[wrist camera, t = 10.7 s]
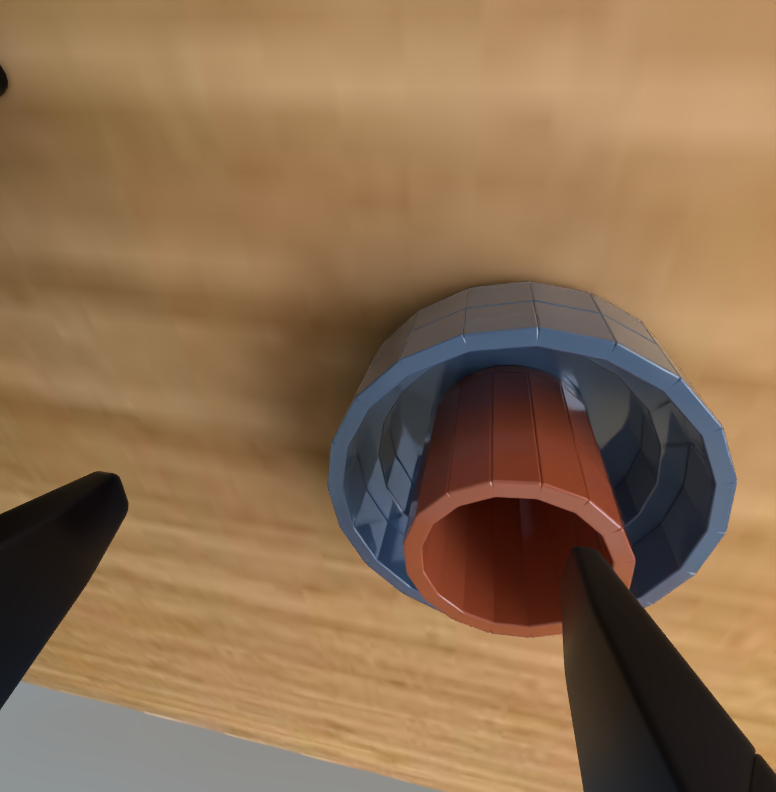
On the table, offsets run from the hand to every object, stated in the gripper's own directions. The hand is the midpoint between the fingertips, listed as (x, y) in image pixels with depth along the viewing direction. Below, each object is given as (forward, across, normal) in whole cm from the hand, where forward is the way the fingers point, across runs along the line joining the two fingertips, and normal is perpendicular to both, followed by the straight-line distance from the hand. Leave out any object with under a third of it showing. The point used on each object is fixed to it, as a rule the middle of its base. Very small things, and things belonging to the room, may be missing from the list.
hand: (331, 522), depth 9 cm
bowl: (+11, -5, +5) cm, 13 cm away
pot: (+11, -4, +5) cm, 12 cm away
